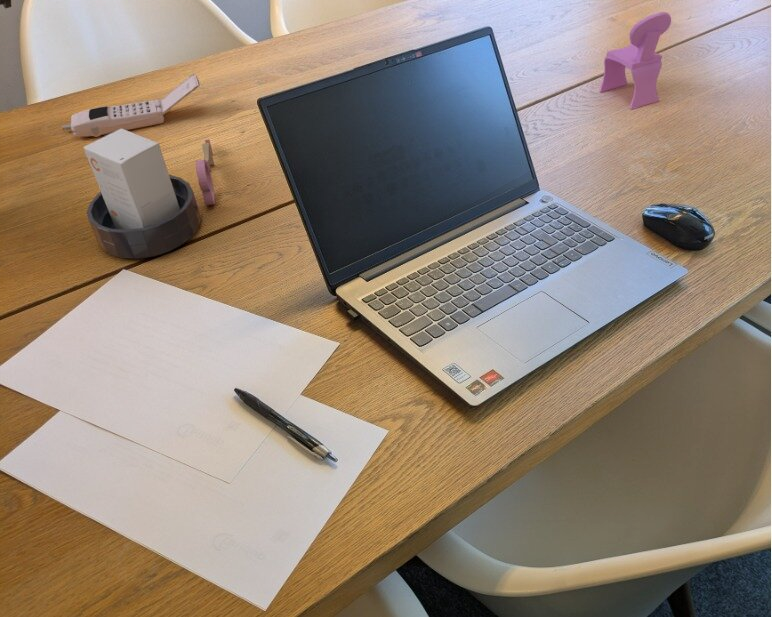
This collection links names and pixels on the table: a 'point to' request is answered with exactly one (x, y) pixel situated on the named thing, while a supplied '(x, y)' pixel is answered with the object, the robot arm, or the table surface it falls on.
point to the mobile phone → (129, 113)
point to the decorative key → (206, 174)
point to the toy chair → (638, 60)
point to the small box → (132, 179)
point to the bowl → (150, 237)
